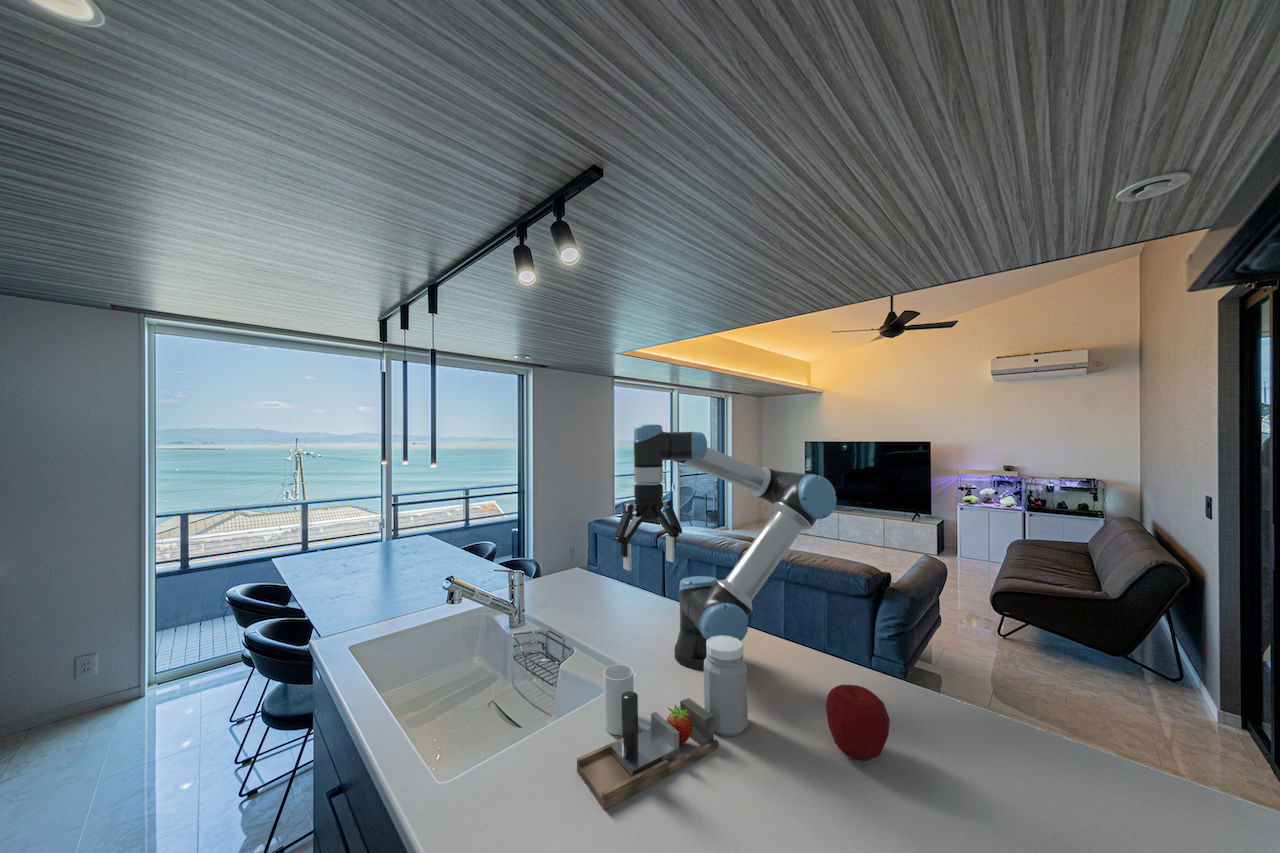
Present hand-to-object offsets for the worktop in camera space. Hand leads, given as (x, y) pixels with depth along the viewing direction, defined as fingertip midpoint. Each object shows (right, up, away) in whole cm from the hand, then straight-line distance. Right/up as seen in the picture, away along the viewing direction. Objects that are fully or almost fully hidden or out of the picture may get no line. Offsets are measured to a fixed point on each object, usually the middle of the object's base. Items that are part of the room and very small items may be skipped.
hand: (649, 565), depth 114 cm
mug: (-7, -31, -14) cm, 35 cm away
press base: (0, -31, -26) cm, 40 cm away
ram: (-2, -29, -27) cm, 40 cm away
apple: (+42, -31, -25) cm, 58 cm away
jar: (+17, -31, -15) cm, 39 cm away
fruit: (+6, -31, -22) cm, 39 cm away
